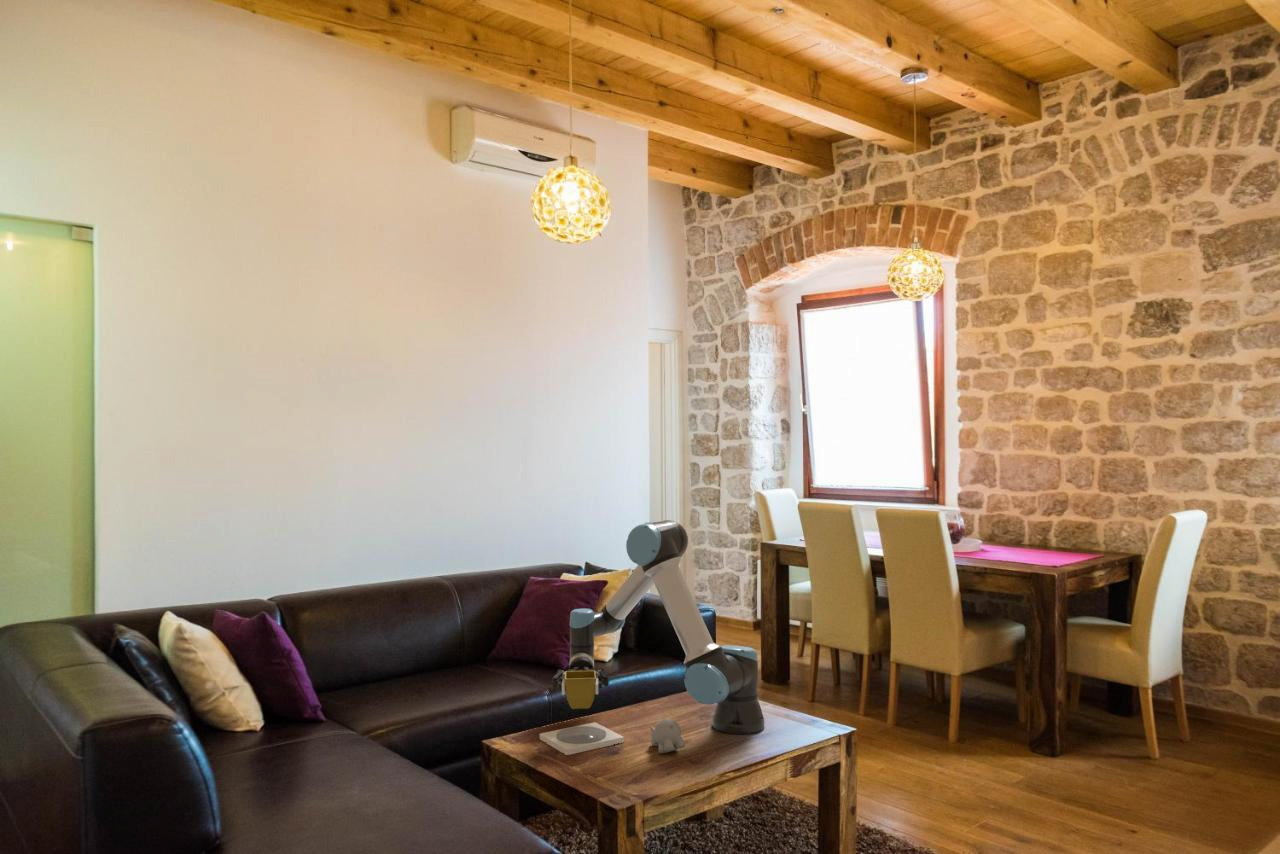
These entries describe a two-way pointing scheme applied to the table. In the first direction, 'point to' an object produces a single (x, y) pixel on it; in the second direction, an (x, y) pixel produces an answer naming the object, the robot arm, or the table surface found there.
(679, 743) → the hippopotamus figurine
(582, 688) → the flower pot
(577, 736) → the tile stand
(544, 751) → the table surface
